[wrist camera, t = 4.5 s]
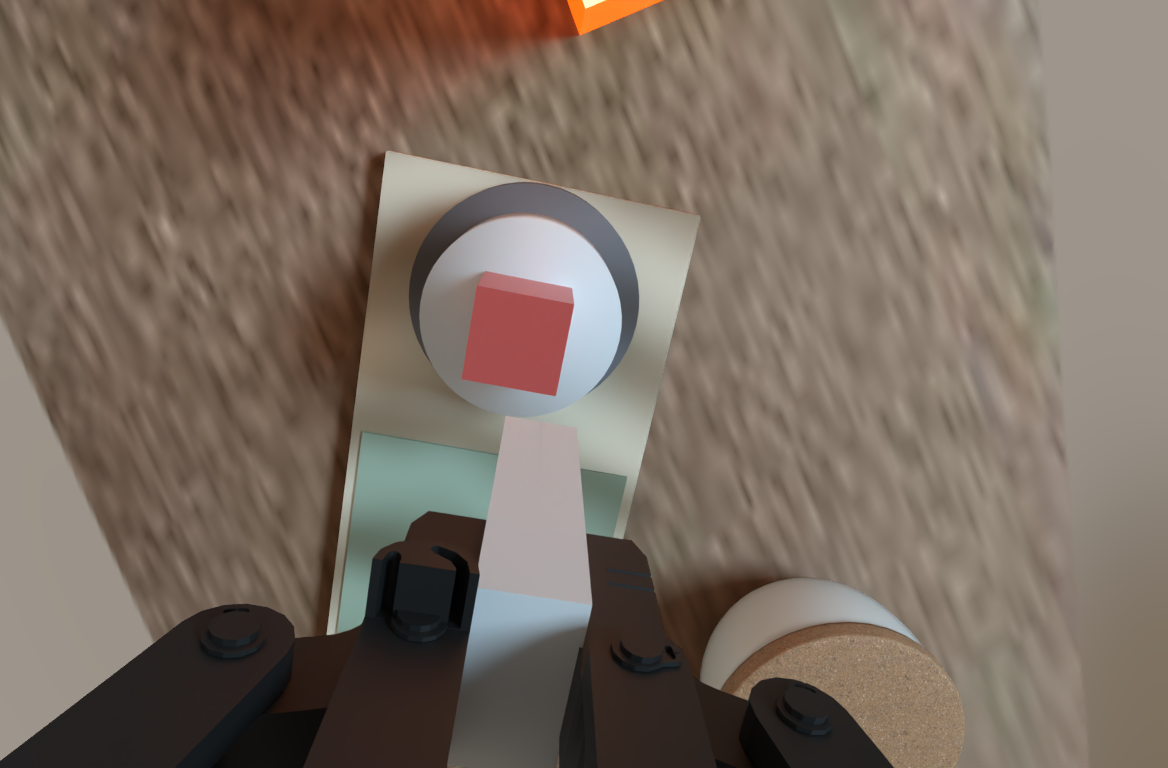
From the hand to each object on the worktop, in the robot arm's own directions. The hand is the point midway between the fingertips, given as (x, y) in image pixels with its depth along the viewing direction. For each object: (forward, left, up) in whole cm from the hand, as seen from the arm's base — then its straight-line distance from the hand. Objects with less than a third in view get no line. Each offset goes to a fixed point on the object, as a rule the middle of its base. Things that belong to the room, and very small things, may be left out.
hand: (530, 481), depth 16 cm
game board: (-7, +1, -18) cm, 19 cm away
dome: (+1, +1, -14) cm, 14 cm away
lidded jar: (-14, -15, -18) cm, 28 cm away
